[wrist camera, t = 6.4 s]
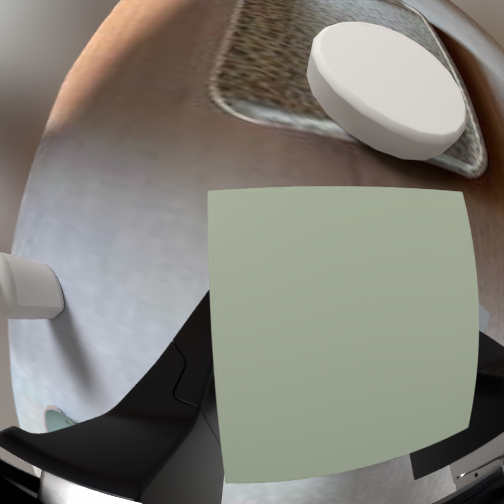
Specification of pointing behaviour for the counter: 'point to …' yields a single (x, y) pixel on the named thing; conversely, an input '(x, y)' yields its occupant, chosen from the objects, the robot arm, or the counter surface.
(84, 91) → the counter surface
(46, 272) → the eye dropper bottle
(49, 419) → the pacifier
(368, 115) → the container
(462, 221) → the pillar block
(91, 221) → the counter surface
